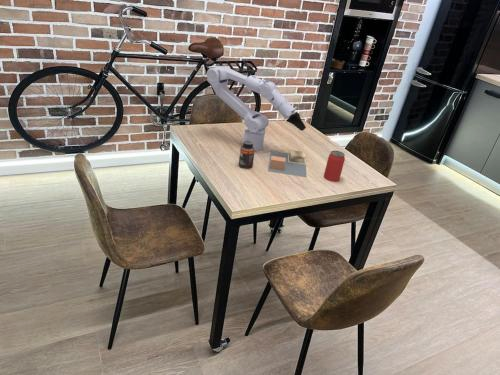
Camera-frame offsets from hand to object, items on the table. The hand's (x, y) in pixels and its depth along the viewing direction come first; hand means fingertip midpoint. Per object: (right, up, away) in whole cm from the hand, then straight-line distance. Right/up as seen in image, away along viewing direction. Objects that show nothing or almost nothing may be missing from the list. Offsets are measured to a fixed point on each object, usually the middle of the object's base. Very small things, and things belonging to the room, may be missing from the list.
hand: (303, 129), depth 159 cm
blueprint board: (-6, -15, +5) cm, 17 cm away
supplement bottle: (-25, -16, -2) cm, 30 cm away
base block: (-2, -12, +9) cm, 15 cm away
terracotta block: (-11, -16, 0) cm, 20 cm away
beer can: (+11, -22, -2) cm, 24 cm away
